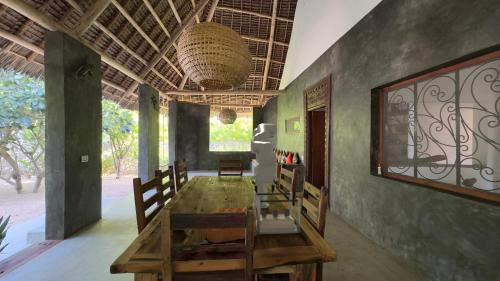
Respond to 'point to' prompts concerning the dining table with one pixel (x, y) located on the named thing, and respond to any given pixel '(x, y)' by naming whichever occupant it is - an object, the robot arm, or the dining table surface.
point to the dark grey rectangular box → (275, 213)
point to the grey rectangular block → (263, 213)
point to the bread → (228, 229)
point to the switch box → (276, 222)
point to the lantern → (198, 235)
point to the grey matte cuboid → (286, 212)
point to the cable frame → (296, 228)
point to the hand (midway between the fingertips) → (264, 192)
